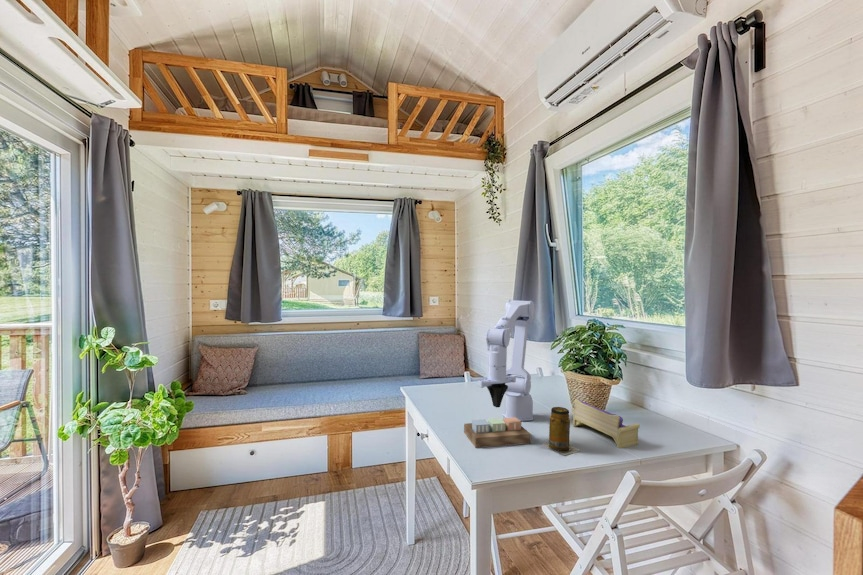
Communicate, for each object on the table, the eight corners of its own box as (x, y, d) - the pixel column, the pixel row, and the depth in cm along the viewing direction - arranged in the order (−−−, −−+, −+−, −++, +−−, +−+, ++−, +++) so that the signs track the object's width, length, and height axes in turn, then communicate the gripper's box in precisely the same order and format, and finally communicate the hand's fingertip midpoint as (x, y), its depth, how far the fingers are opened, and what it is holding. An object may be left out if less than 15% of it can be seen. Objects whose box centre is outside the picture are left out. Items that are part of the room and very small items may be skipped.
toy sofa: (640, 445, 127) (641, 413, 127) (621, 450, 123) (622, 417, 123) (588, 422, 146) (589, 395, 146) (570, 426, 142) (571, 397, 142)
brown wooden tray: (514, 428, 139) (514, 420, 139) (530, 443, 127) (530, 433, 127) (463, 432, 135) (464, 423, 135) (475, 447, 123) (475, 438, 123)
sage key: (500, 428, 133) (500, 418, 133) (505, 433, 129) (505, 423, 129) (487, 429, 132) (487, 419, 132) (492, 434, 128) (492, 424, 128)
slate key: (484, 429, 132) (484, 419, 132) (489, 434, 128) (489, 424, 128) (471, 430, 131) (472, 420, 131) (476, 435, 127) (476, 425, 127)
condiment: (558, 440, 129) (559, 404, 129) (580, 450, 122) (581, 412, 122) (542, 445, 125) (543, 408, 125) (564, 456, 118) (565, 416, 118)
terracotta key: (515, 427, 135) (515, 417, 134) (521, 432, 130) (521, 422, 130) (503, 428, 134) (503, 418, 133) (508, 433, 129) (508, 423, 129)
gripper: (506, 360, 137) (505, 399, 138) (472, 364, 130) (471, 406, 130) (520, 364, 131) (519, 405, 132) (486, 369, 124) (485, 412, 124)
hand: (496, 406), depth 130 cm, fingers closed
